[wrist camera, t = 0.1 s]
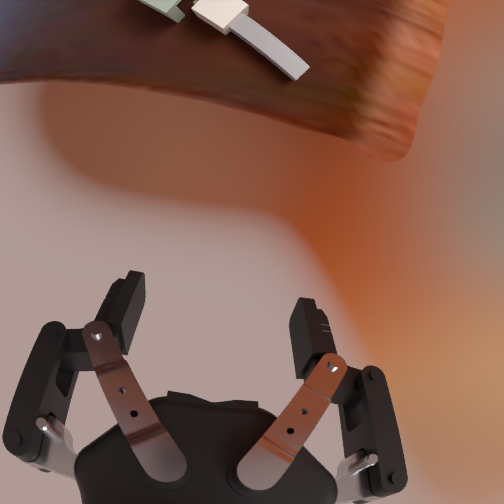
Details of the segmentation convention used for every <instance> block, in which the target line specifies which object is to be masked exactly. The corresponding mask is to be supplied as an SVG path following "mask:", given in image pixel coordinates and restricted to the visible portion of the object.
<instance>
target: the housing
mask: <svg viewBox="0 0 504 504" xmlns="http://www.w3.org/2000/svg"><path fill="white" fill-rule="evenodd" d="M139 1H140V2H142V3H143V4H145V5H147V6H149V7H151V8H153V9H155V10H156V11H158V12H160V13H162V14H163V15H165V16H167V17H169V18H170V19H172V20H174V21H175V22H177V23H179V22H180V21H181V20H182V19H183V18H184V17H185V16H186V15H185V14H184V13H183V12H182V11H181V10H180V9H179V8H178V7H177V6H176V5H177V4H178V3H179V2H180V1H181V0H139Z"/></svg>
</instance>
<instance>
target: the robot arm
mask: <svg viewBox="0 0 504 504" xmlns="http://www.w3.org/2000/svg"><path fill="white" fill-rule="evenodd" d="M144 303H145V274H144V273H142V272H137V271H132V270H130V271H129V273H128V275H127V277H126V279H120V278H119V279H118V280H116V281H115V282H114V283H113V284H112V286H111V287H110V289H109V291H108V293H107V295H106V298H105V299H104V301H103V303H102V305H101V307H100V309H99V312H98V314H97V316H96V318H95V320H94V321H92V322H89V323H88V324H86V325H85V326H84V328H82V329H66V328H65V326H64V325H63V324H62V323H60V322H57V321H52V322H49V323H47V324H46V325H44V326H43V327H42V329H41V331H40V333H39V335H38V338H37V340H36V342H35V344H34V346H33V349H32V351H31V353H30V356H29V358H28V360H27V363H26V365H25V368H24V370H23V373H22V375H21V378H20V381H19V383H18V386H17V389H16V392H15V395H14V397H13V400H12V403H11V406H10V410H9V413H8V416H7V420H6V424H5V427H4V431H3V436H2V438H3V443H4V445H5V447H6V449H7V450H8V451H9V452H10V453H12V454H13V455H15V456H16V457H18V458H19V459H20V460H21V461H23V462H25V463H26V464H28V465H30V466H32V467H34V468H37V469H39V470H40V471H43V472H51V471H52V472H54V473H57V474H60V475H62V476H65V477H68V478H71V479H74V480H76V482H77V484H78V487H79V490H80V494H81V499H82V504H340V503H347V502H353V503H356V504H364V503H367V502H371V501H374V500H377V499H380V498H383V497H386V496H389V495H392V494H395V493H397V492H400V491H401V490H402V489H404V487H405V486H406V484H407V480H408V477H407V470H406V465H405V459H404V454H403V449H402V444H401V439H400V435H399V430H398V426H397V421H396V417H395V413H394V409H393V405H392V401H391V397H390V393H389V389H388V386H387V382H386V378H385V375H384V373H383V372H382V371H381V370H380V369H379V368H378V367H375V366H366V367H365V368H364V369H363V370H359V369H356V368H353V367H350V366H347V364H346V362H345V360H344V359H343V358H342V357H341V356H339V355H337V351H336V347H335V344H334V340H333V336H332V333H331V329H330V326H329V322H328V318H327V316H326V315H325V314H324V312H323V311H322V310H321V309H317V308H316V304H315V300H314V299H310V298H302V297H300V298H299V299H298V301H297V303H296V306H295V308H294V310H293V313H292V315H291V317H290V322H289V329H290V337H291V344H292V351H293V358H294V365H295V371H296V379H304V384H303V385H302V386H301V388H300V389H299V390H298V392H297V393H296V395H295V396H294V397H293V399H292V400H291V401H290V402H289V404H288V405H287V406H286V408H285V409H284V410H283V412H282V413H281V414H280V415H279V416H278V418H277V417H276V416H275V415H273V414H272V413H270V412H268V411H266V410H264V409H262V408H259V407H258V401H257V402H256V401H244V400H232V401H224V402H216V403H215V402H209V401H207V400H204V399H201V398H198V397H196V396H193V395H191V394H185V393H178V392H173V391H168V394H167V396H164V397H158V398H154V399H151V400H149V401H148V400H147V399H146V397H145V395H144V393H143V391H142V389H141V388H140V386H139V384H138V382H137V380H136V378H135V376H134V374H133V372H132V371H131V368H130V366H129V364H128V363H127V361H126V360H124V358H123V356H122V354H123V355H128V351H129V349H130V345H131V342H132V339H133V336H134V333H135V330H136V327H137V324H138V321H139V318H140V315H141V313H142V310H143V307H144ZM79 371H95V372H96V375H97V377H98V380H99V382H100V385H101V387H102V389H103V392H104V394H105V396H106V398H107V401H108V403H109V405H110V407H111V409H112V411H113V413H114V416H115V418H116V420H117V422H118V423H117V424H116V425H114V426H113V427H112V428H110V429H109V430H108V431H106V432H105V433H104V434H102V435H101V436H100V437H98V438H97V439H96V440H94V441H93V442H91V443H90V444H89V445H87V446H86V447H84V448H83V449H82V450H81V451H80V452H79V453H78V455H76V454H75V452H74V450H73V445H72V443H73V440H72V435H71V433H70V432H69V431H68V429H67V428H66V427H65V421H66V417H67V413H68V409H69V405H70V401H71V398H72V394H73V390H74V387H75V383H76V380H77V377H78V373H79ZM330 402H331V403H334V404H338V407H339V415H340V422H341V430H342V438H343V446H344V455H345V459H344V460H343V461H342V462H340V464H339V466H338V470H337V476H336V478H335V479H334V477H333V476H332V474H331V473H330V472H329V471H328V470H327V469H325V467H324V466H323V465H321V463H320V462H319V461H317V459H316V458H315V457H314V456H313V455H312V454H311V453H310V452H309V451H308V450H307V449H306V448H305V447H304V446H303V444H304V443H305V441H306V440H307V439H308V437H309V436H310V434H311V432H312V431H313V429H314V428H315V426H316V425H317V423H318V422H319V420H320V419H321V417H322V415H323V414H324V412H325V411H326V409H327V407H328V406H329V404H330Z"/></svg>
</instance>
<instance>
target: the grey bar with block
mask: <svg viewBox="0 0 504 504" xmlns="http://www.w3.org/2000/svg"><path fill="white" fill-rule="evenodd" d="M193 4H194V6H193V7H192V8H191V9H192V10H193V11H194V13H195V14H196V15H197V17H199V18H200V19H202V20H203V21H205V22H207V23H208V24H210V25H211V26H213V27H214V28H216V29H217V30H219V31H220V32H222V33H223V34H224V35H227V34H228V33H229V32H230V31H231V32H232V33H234V34H235V35H237V36H238V37H239V38H241V39H242V40H244V41H245V42H246V43H248V44H249V45H250V46H252V47H253V48H254V49H255V50H257V51H258V52H259V53H261V54H262V55H263V56H264V57H266V58H267V59H268V60H269V61H271V62H272V63H273V64H274V65H275V66H277V67H278V68H279V69H280V70H281V71H282V72H284V73H285V74H286V75H287V76H288V77H289V78H290V79H292V80H297V79H298V78H299V77H300V76H301V75H302V74H303V73H304V72H305V71H306V70H307V69H308V68H309V67H310V66H309V65H307V64H306V63H305V62H304V61H303V60H302V59H301V58H300V57H298V56H297V55H296V54H295V53H294V52H293V51H292V50H290V49H289V48H288V47H287V46H286V45H284V44H283V43H282V42H281V41H280V40H278V39H277V38H276V37H275V36H273V35H272V34H271V33H269V32H268V31H267V30H266V29H264V28H263V27H262V26H260V25H259V24H258V23H256V22H255V21H253V20H252V19H251V18H249V17H248V16H247V15H248V4H246V3H245V2H243V1H242V0H199V1H197V0H195V1H194V2H193Z"/></svg>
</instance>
